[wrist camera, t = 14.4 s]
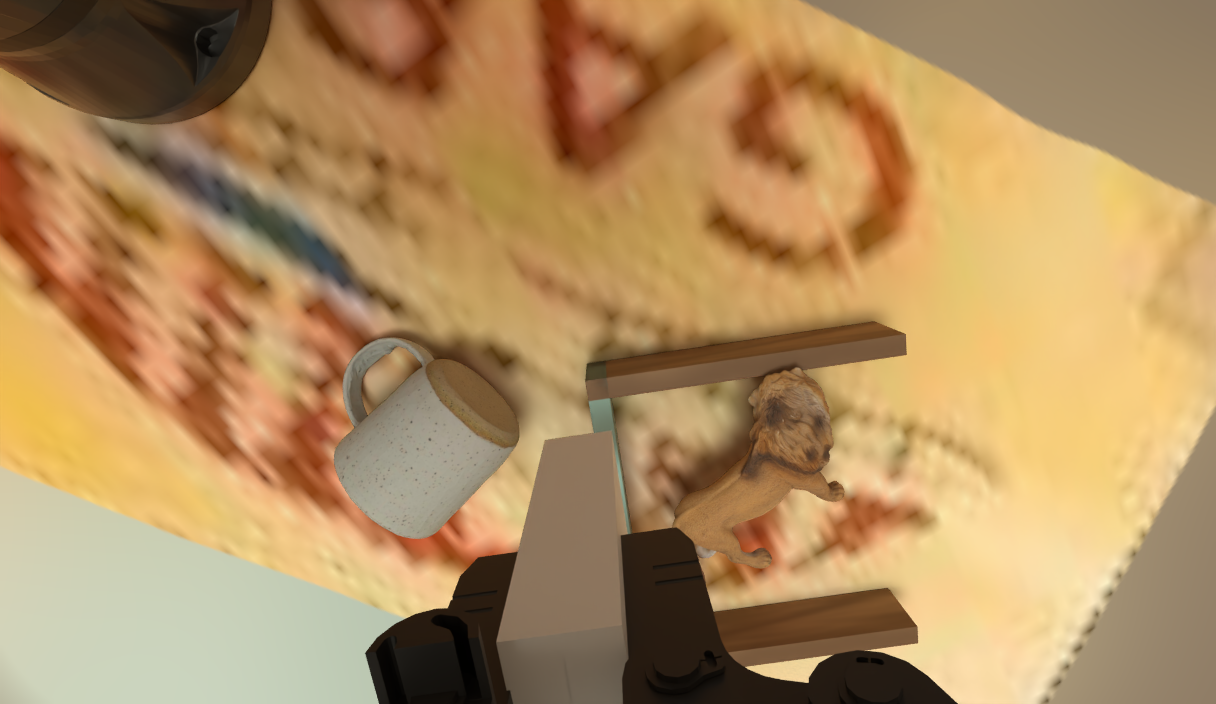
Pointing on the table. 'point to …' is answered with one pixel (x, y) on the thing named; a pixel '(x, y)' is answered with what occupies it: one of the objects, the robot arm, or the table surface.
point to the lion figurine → (765, 467)
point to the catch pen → (783, 624)
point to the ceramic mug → (421, 441)
